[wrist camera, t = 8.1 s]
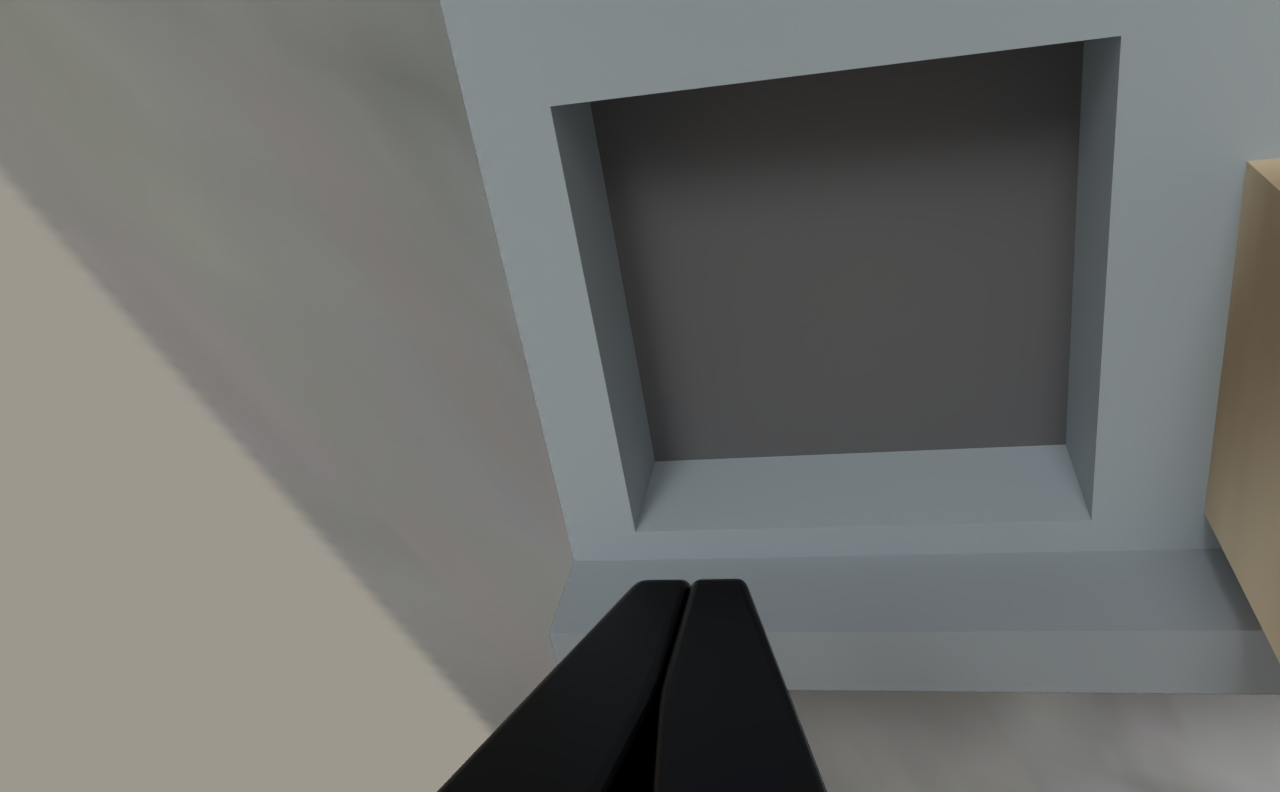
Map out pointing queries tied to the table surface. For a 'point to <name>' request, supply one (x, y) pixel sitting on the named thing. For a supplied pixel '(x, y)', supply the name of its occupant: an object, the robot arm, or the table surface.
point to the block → (1252, 406)
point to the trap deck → (888, 319)
